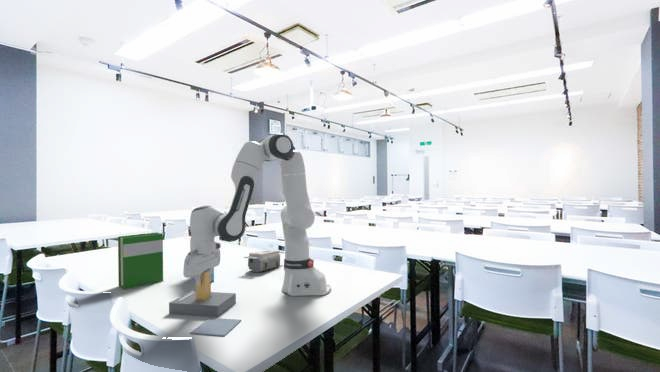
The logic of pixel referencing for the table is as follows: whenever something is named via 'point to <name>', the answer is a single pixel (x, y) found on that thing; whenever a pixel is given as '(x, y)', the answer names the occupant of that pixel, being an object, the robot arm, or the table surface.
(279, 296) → the table surface
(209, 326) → the mat
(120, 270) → the hardback book
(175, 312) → the grey block with hole
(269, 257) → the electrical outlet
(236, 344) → the table surface
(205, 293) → the plug
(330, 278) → the table surface
